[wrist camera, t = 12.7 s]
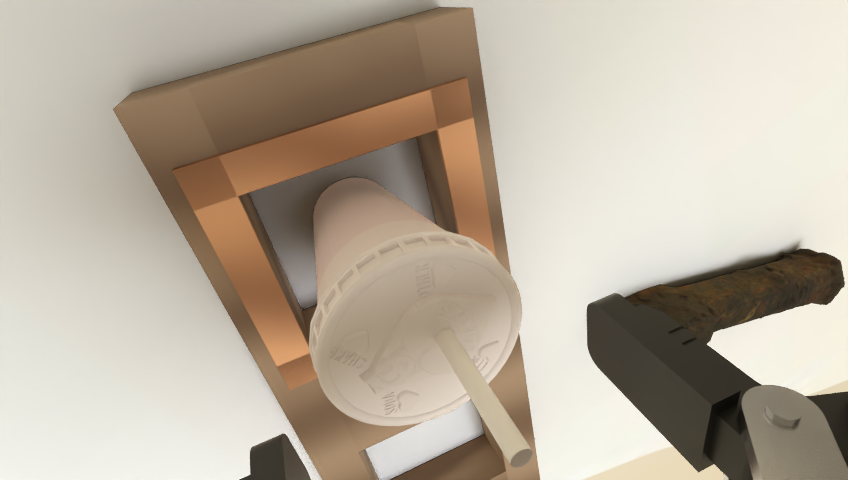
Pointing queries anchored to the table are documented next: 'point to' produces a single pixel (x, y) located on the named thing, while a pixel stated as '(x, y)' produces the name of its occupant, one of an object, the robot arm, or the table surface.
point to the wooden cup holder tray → (314, 149)
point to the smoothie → (408, 315)
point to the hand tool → (747, 293)
